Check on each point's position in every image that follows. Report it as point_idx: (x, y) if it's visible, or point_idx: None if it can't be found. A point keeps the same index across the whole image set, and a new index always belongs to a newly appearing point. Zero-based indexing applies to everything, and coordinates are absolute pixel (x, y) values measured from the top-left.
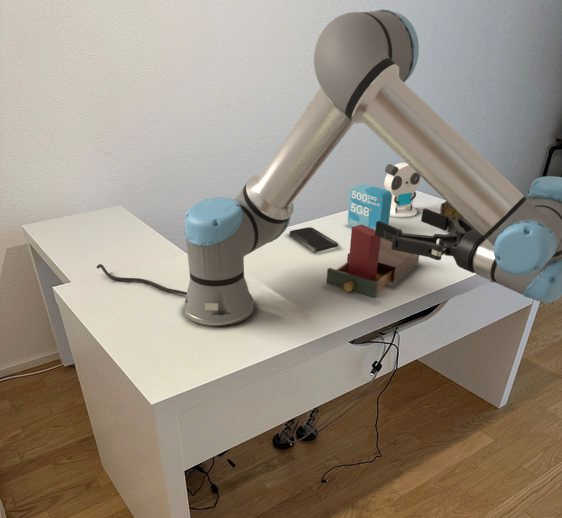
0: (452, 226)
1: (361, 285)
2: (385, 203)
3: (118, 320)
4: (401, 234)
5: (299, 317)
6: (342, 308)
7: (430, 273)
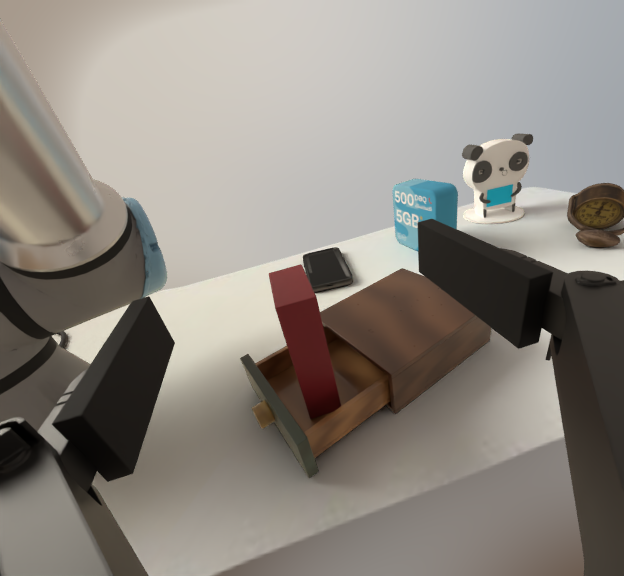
0: (579, 374)
1: (280, 425)
2: (443, 205)
3: None
4: (3, 475)
5: (111, 495)
6: (221, 483)
7: (520, 370)
